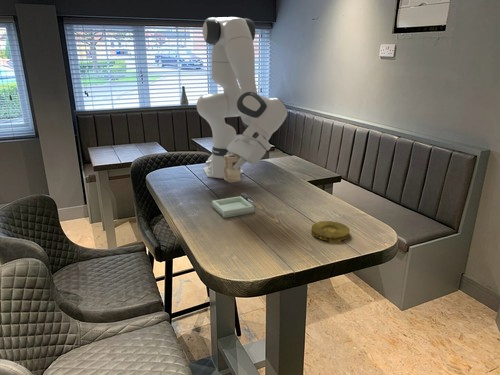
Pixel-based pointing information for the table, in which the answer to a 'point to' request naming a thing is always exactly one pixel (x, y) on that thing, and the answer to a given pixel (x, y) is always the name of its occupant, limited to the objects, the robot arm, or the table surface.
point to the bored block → (231, 168)
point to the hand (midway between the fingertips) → (230, 166)
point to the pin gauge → (247, 198)
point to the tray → (232, 206)
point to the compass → (330, 231)
